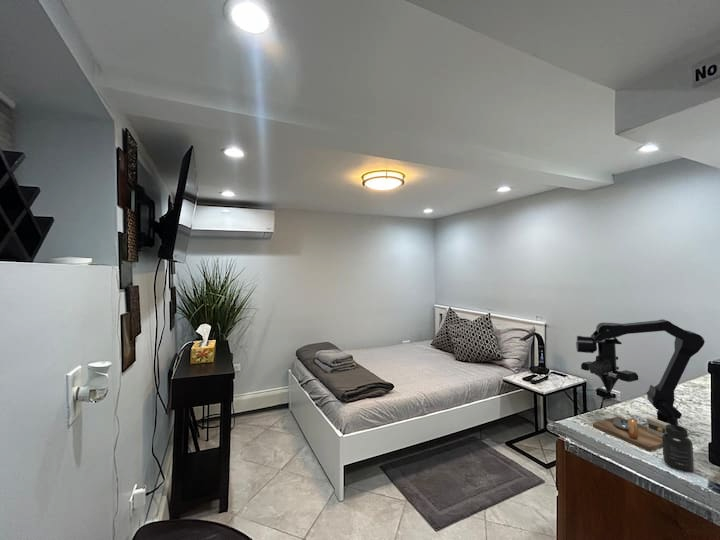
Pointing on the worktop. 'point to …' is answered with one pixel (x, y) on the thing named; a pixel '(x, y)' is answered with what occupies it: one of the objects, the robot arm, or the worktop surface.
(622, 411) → the worktop surface
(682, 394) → the worktop surface
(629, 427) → the cam lever
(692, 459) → the supplement bottle
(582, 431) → the worktop surface
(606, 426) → the stand
